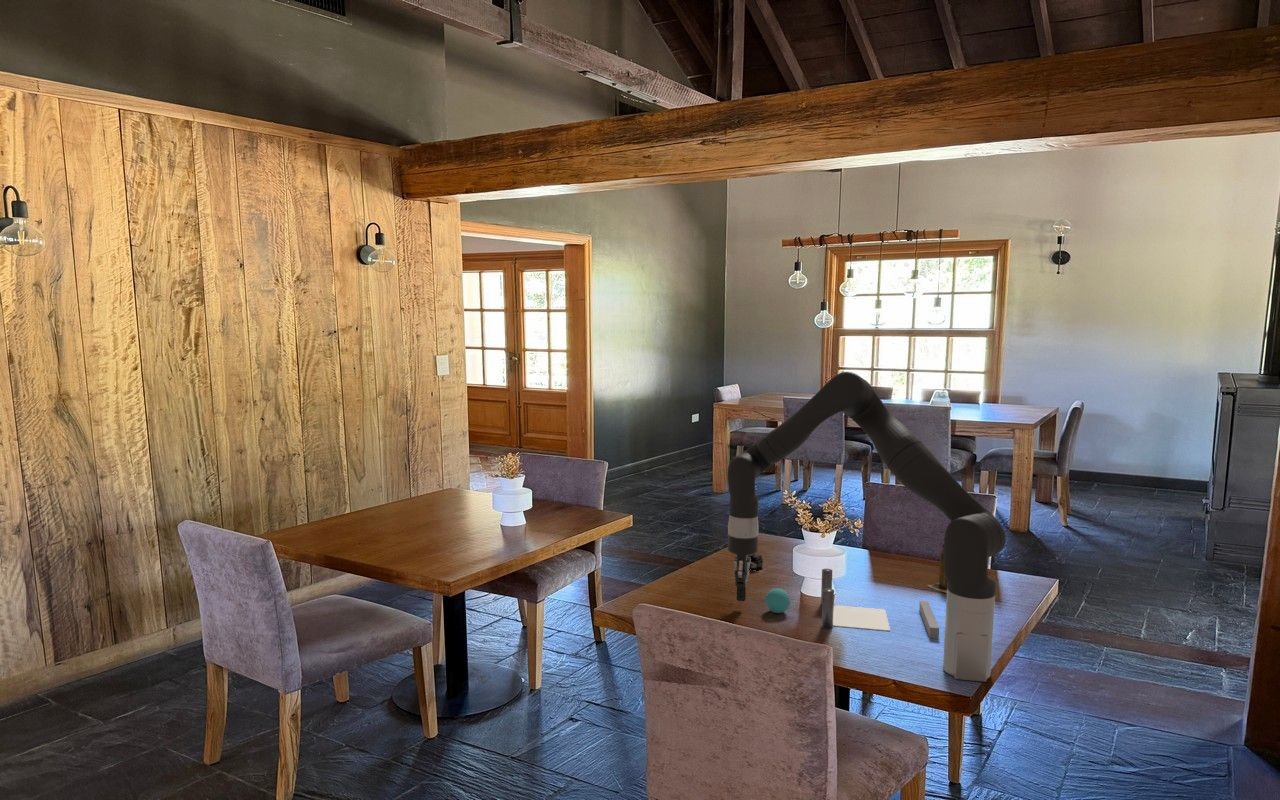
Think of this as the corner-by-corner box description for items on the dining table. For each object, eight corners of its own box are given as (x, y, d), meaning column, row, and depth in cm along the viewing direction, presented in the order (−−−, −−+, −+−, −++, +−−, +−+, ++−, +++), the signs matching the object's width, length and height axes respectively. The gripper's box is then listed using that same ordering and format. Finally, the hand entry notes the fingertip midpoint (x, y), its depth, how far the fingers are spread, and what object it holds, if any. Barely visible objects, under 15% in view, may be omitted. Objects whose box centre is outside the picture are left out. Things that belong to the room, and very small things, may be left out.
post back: (831, 606, 205) (832, 572, 204) (820, 605, 205) (822, 571, 204) (831, 602, 207) (832, 569, 206) (820, 602, 208) (821, 568, 207)
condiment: (969, 589, 219) (971, 546, 218) (949, 594, 215) (952, 550, 213) (946, 581, 225) (948, 539, 224) (926, 586, 221) (928, 544, 219)
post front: (832, 629, 189) (834, 592, 188) (821, 628, 190) (823, 591, 189) (832, 625, 192) (834, 588, 191) (821, 624, 192) (822, 588, 191)
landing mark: (890, 631, 189) (890, 630, 189) (829, 625, 192) (829, 625, 192) (885, 610, 202) (885, 609, 202) (828, 605, 205) (828, 604, 205)
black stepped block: (729, 568, 236) (729, 553, 236) (742, 563, 242) (742, 548, 242) (765, 577, 229) (766, 562, 228) (778, 571, 234) (779, 556, 234)
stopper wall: (938, 638, 185) (939, 628, 184) (929, 637, 185) (930, 627, 185) (927, 610, 202) (928, 601, 202) (919, 610, 202) (919, 600, 202)
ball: (789, 617, 196) (790, 594, 196) (764, 615, 198) (765, 592, 197) (789, 609, 202) (790, 586, 202) (765, 607, 203) (766, 584, 203)
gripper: (756, 541, 193) (754, 610, 194) (759, 527, 206) (757, 592, 207) (725, 538, 194) (723, 608, 196) (730, 525, 207) (728, 590, 209)
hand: (741, 599), depth 202 cm, fingers closed
